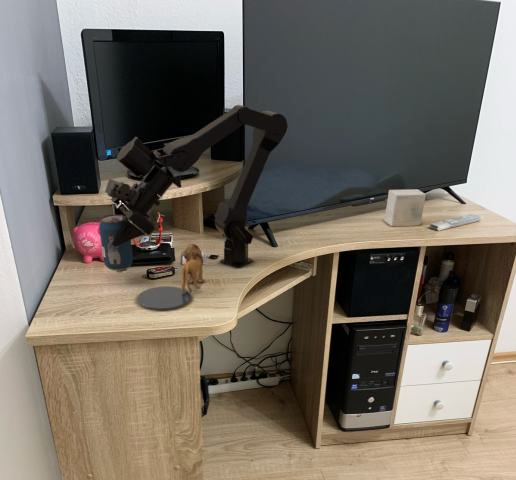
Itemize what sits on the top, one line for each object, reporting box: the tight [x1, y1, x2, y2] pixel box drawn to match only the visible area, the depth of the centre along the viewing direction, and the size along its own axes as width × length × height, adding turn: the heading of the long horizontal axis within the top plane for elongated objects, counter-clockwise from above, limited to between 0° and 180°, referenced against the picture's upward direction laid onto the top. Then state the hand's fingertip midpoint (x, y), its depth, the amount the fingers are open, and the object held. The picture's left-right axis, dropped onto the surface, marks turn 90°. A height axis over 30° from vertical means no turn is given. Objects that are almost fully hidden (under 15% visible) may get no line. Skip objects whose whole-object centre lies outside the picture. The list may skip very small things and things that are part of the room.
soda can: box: [98, 214, 134, 271], centre depth 129 cm, size 7×7×12 cm
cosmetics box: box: [383, 188, 427, 227], centre depth 177 cm, size 10×6×10 cm, turn 101°
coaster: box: [137, 285, 191, 312], centre depth 125 cm, size 12×12×1 cm
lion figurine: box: [180, 243, 205, 294], centre depth 129 cm, size 15×5×9 cm, turn 4°
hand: (110, 240), depth 129 cm, fingers closed on soda can, 7 cm apart
